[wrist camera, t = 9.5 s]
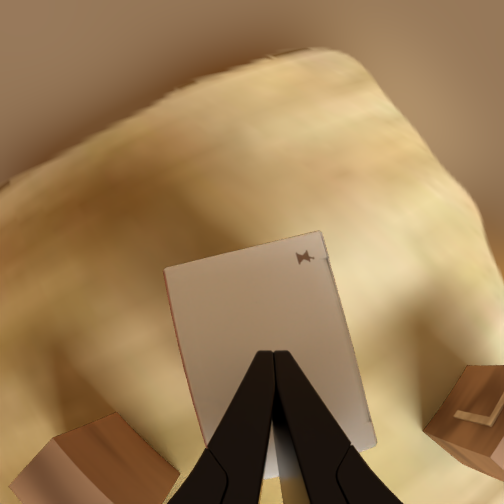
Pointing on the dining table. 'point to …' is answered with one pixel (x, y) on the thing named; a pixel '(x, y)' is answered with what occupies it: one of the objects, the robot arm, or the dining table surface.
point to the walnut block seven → (474, 420)
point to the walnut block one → (96, 468)
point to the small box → (266, 330)
